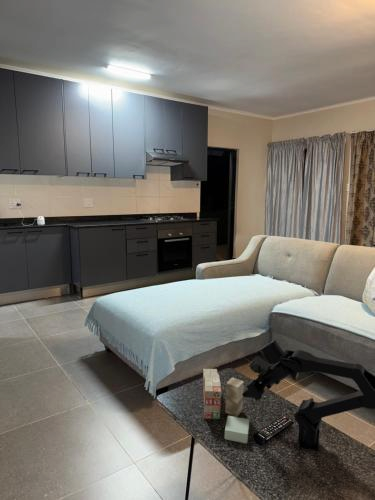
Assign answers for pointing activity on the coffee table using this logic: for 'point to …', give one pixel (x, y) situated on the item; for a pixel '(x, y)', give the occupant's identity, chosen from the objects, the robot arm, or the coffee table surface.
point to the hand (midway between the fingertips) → (248, 389)
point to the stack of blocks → (211, 394)
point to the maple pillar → (234, 397)
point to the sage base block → (237, 429)
